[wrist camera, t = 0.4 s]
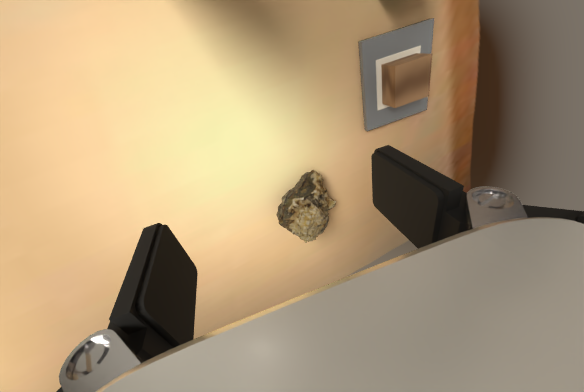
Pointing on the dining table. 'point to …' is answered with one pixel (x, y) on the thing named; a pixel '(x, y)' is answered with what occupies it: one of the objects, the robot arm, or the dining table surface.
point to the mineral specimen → (306, 207)
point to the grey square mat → (385, 51)
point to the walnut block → (406, 79)
